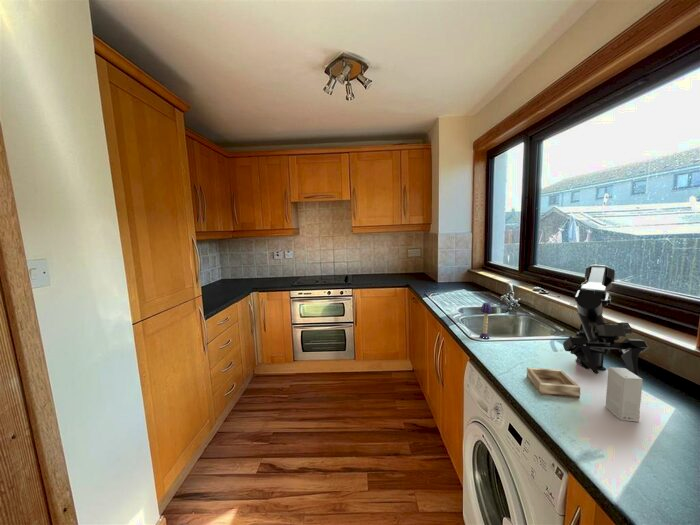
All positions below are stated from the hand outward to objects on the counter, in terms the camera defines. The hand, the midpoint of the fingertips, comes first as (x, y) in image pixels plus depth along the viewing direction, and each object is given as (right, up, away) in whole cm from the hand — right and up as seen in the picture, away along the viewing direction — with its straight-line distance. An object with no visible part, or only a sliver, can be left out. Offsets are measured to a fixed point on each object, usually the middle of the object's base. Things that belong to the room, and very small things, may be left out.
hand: (616, 375), depth 76 cm
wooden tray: (-9, -9, +12) cm, 17 cm away
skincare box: (0, -10, -1) cm, 10 cm away
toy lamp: (-11, -4, +52) cm, 53 cm away
